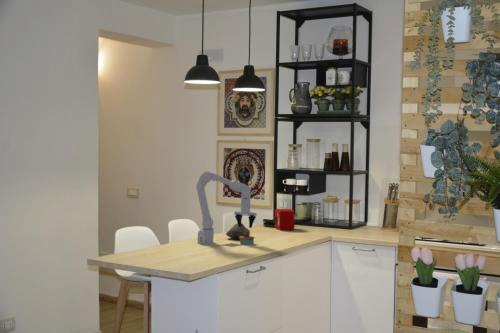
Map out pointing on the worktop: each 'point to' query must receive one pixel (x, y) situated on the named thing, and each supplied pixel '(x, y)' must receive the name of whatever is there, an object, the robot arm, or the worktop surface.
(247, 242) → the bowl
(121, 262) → the worktop surface
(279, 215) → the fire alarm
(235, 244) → the mat
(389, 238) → the worktop surface
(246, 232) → the lid
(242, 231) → the stone
